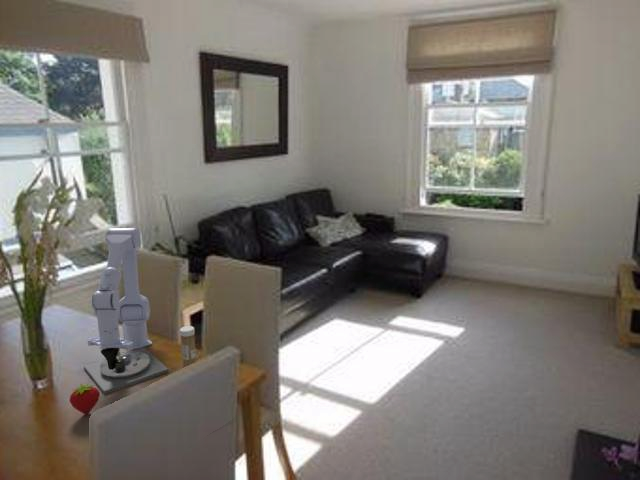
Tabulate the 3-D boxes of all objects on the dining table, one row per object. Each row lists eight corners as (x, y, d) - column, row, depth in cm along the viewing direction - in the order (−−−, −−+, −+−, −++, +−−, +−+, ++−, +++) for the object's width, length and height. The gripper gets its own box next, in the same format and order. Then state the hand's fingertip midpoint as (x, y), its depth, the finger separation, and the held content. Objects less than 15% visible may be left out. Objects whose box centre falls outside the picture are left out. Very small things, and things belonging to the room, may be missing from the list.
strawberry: (102, 416, 136) (98, 383, 134) (72, 423, 133) (67, 390, 131) (101, 405, 141) (97, 373, 139) (72, 411, 138) (67, 379, 136)
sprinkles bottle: (198, 366, 163) (196, 329, 159) (185, 370, 160) (182, 332, 157) (194, 361, 166) (191, 324, 163) (180, 364, 164) (177, 327, 160)
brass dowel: (115, 357, 167) (114, 346, 166) (119, 355, 168) (118, 345, 167) (116, 358, 166) (115, 347, 165) (121, 357, 167) (119, 346, 166)
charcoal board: (84, 368, 161) (83, 365, 161) (144, 349, 174) (143, 347, 174) (104, 394, 147) (104, 391, 147) (168, 371, 159) (168, 368, 159)
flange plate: (101, 358, 165) (99, 345, 164) (148, 350, 171) (147, 337, 169) (99, 382, 151) (97, 367, 149) (151, 373, 156) (150, 358, 155)
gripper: (79, 331, 148) (84, 371, 152) (121, 336, 145) (126, 377, 149) (94, 321, 155) (99, 360, 158) (135, 326, 152) (139, 366, 155)
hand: (113, 368), depth 154 cm, fingers closed, pressing on flange plate
